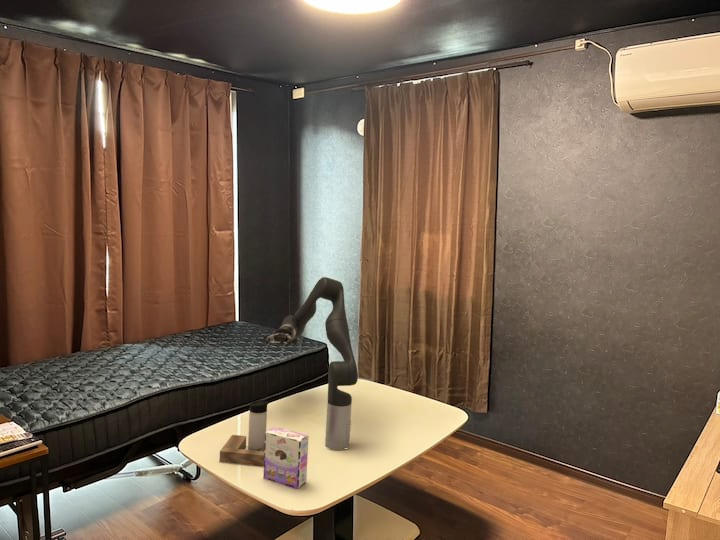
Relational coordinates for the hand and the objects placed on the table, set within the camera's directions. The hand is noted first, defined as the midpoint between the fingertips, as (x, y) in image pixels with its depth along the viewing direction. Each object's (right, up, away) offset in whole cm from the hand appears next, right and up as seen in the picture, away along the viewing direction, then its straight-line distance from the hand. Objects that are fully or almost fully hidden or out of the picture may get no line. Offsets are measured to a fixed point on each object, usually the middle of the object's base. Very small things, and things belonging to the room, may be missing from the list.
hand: (277, 343), depth 221 cm
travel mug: (-4, -38, -22) cm, 44 cm away
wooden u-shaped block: (-4, -38, -24) cm, 45 cm away
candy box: (+8, -41, -40) cm, 57 cm away
